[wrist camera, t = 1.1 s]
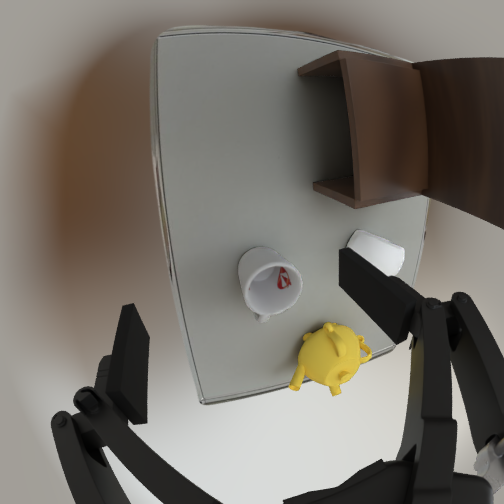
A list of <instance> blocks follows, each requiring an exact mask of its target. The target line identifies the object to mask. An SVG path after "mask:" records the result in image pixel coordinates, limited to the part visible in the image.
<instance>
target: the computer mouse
mask: <svg viewBox="0 0 504 504" xmlns="http://www.w3.org/2000/svg"><path fill="white" fill-rule="evenodd" d="M347 247H350V248H351V249H352V250H354V251H355V252H356V253H358V254H359V255H360V256H362V257H363V258H364V259H366V260H367V261H368V262H370V263H371V264H372V265H374V266H375V267H376V268H378V269H379V270H380V271H382V272H383V273H384V274H386V275H387V276H391V275H392V276H395V275H396V274H397V273H398V272H399V270H400V268H401V267H402V265H403V264H402V263H403V261H404V259H405V258H404V249H403V248H402V247H401V246H399V245H397V244H395V243H393V242H391V241H389V240H387V239H384V238H382V237H379V236H376V235H374V234H371V233H369V232H366V231H363V230H356V231H355V232H354V234H353V235H352V237H351V238H350V240H349V242H348V244H347ZM347 247H346V248H347Z"/></svg>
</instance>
